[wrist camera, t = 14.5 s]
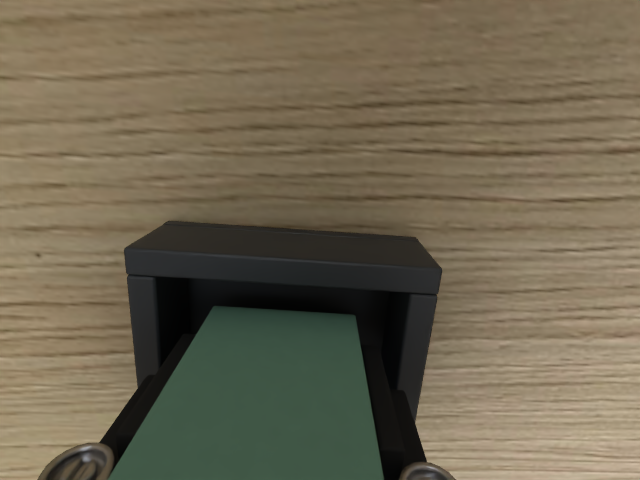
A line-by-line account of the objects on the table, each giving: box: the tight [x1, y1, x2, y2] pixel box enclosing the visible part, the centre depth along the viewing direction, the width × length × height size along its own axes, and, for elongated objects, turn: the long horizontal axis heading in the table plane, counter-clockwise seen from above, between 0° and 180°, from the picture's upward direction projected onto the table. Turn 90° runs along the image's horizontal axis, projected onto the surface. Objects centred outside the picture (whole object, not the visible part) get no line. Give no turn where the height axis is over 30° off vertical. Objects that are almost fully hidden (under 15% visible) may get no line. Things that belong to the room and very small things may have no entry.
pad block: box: [108, 306, 384, 480], centre depth 9 cm, size 4×4×6 cm
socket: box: [124, 221, 442, 422], centre depth 12 cm, size 9×9×3 cm
